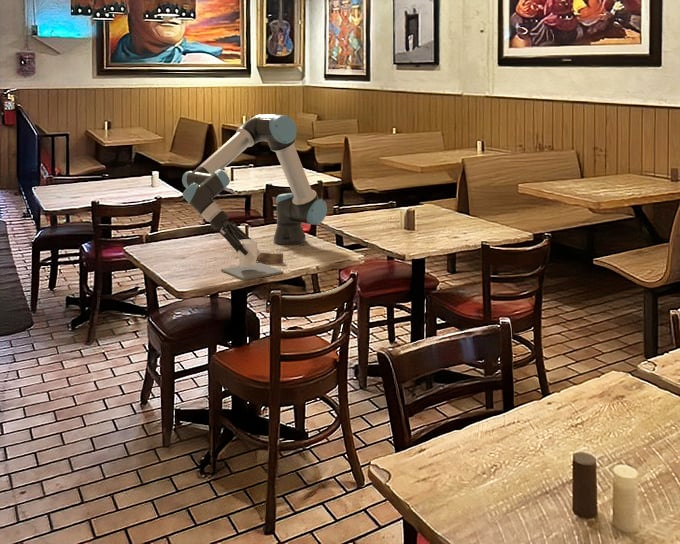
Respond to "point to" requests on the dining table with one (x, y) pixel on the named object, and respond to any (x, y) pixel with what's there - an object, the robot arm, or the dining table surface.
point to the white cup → (252, 247)
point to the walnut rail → (270, 257)
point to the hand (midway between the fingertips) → (256, 257)
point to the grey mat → (252, 271)
